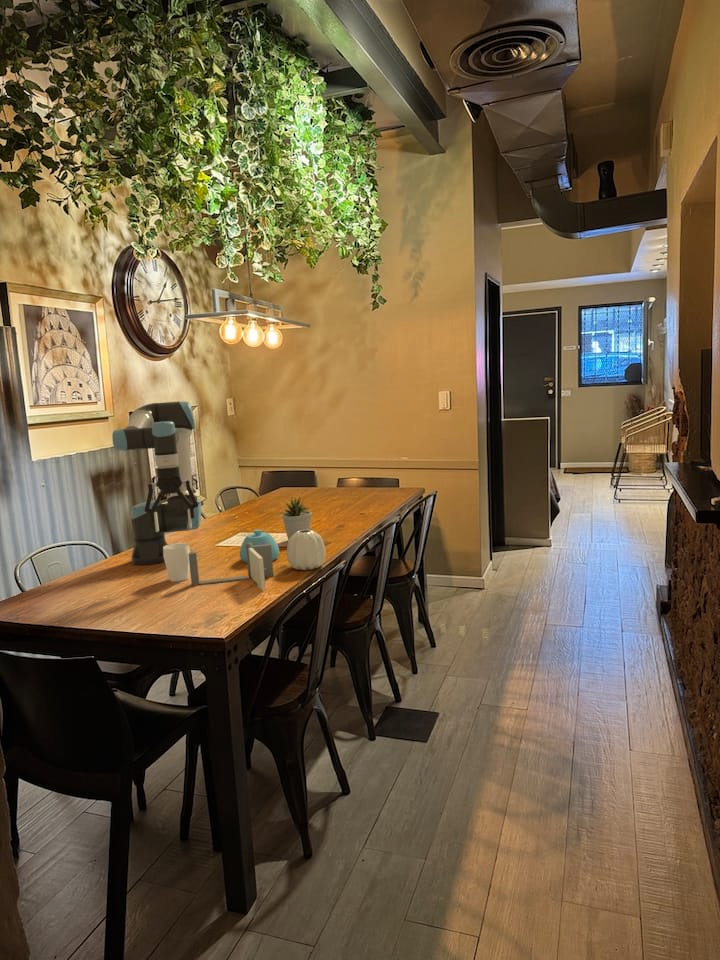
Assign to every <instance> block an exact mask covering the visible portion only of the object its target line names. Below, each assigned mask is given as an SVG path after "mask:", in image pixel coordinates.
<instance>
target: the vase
mask: <svg viewBox="0 0 720 960" xmlns="http://www.w3.org/2000/svg"><path fill="white" fill-rule="evenodd" d="M326 553H327V552H326V547H325V543H324V539H323V538H322V535H320V534H319V533H317V532H316V531H314V530H312V529H310V530H300V531H297V532H296V533H295V534H293V535H292V536H291V537H290V538H289V540H288V541H287V548H286V558H287V562H288V563H289V565H290V566H291V567H292V568H293V569H295V570H296V571H297V570H298V571H308V570H309V571H310V570H313V569H318V568H319V567H322V565H323V563H324V562H325V561H326Z"/></svg>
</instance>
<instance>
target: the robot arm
mask: <svg viewBox="0 0 720 960" xmlns="http://www.w3.org/2000/svg"><path fill="white" fill-rule="evenodd" d="M193 413H194V412H193V410H192V405H191V403H190V402H189V401H170V402H152V403H148V404H145V405H142V406H140V407H138V408H136V409H135V410H133V412H132V413H131V414H130V415H129V418H128V423H127V424H126V426H125V427H124V428H119V429H115V430H113V431H112V435H111V436H112V440H111V441H112V446H113V448H114V450H115V451H119V452H123V451H124V452H128V451H135V450H148V449H149V450H150V449H151V450H152V449H154V457H155V458H154V461H155V466H156V469H155V470H156V479H157V481H156V482H154V483H152V482H149V483H148V485H147V486H148V494H147V497H146V501H144V502H140V503H138V504H135V505H133V506H132V507H131V510H130V515H131V516H130V519H131V524H132V526H131V527H132V532H133V533H132V534H133V549H132V551H131V552H132V553H131V557H130V558H131V563H132V564H133V565H139V566H145V565H155V564H159V563H163V562H164V563H165V560H164V556H163V547H164V546H166V545H169V544H168V543H167V540H166V538H165V535H166V533H175V532H189V531H193V530H194V531H195V530H198V529H199V528H200V526H201V520H202V501H201V500H200V499H198V496H197V495H196V494H195V493H194V490H193V489H194V488H193V476H192V474H193V473H192V467H191V466H192V465H191V464H192V462H191V447H190V437H191V436H192V435H193V430H195V429H196V428H197V427H196V422H195V419H194V414H193ZM156 487H157V488H158V489H159V490H160V491H159V494H158V495H157V497H156V499H154V500H152V498H153V494H154V490H155V489H156ZM168 494H169V495H168ZM163 495H168V497H167V498H166V501H167V502H166V503H162V500H161V499H162V498H163Z"/></svg>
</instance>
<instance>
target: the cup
mask: <svg viewBox="0 0 720 960" xmlns="http://www.w3.org/2000/svg"><path fill="white" fill-rule="evenodd" d="M189 552H191V551H190V545H189V543H186V542H177V543H170V544H168V545H166V546H164V547H163V556H164V560H165V561H164V564H165V568H166V571H167V575H168V578H169V581H170V582H173V583H177V582H184V581H186V580H188V579H189V578H190V563H189Z"/></svg>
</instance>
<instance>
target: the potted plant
mask: <svg viewBox="0 0 720 960" xmlns="http://www.w3.org/2000/svg"><path fill="white" fill-rule="evenodd" d="M301 499H302V497H301V496H300V495H299V496H298V498H294V500H293V498H289V501H290V502H291V503H290V504H289V503H287V502H286V501H284V503H285V505H286V507H288V509H286V508H284V511H285V512H279V514H281V518H282V520H283V526H284V529H285V534H286V537H287V540H288V541H289V538H290V537H291V536H292V535H293V534H295V533H296V532H297V531H300V530H311V519H312V511H310V510H309V509H311V506H308V507H307V506H304V499H305V498H303V500H302V502H301Z"/></svg>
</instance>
